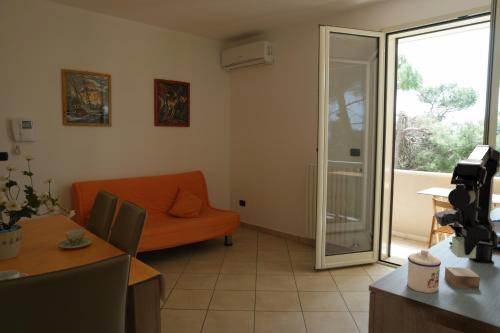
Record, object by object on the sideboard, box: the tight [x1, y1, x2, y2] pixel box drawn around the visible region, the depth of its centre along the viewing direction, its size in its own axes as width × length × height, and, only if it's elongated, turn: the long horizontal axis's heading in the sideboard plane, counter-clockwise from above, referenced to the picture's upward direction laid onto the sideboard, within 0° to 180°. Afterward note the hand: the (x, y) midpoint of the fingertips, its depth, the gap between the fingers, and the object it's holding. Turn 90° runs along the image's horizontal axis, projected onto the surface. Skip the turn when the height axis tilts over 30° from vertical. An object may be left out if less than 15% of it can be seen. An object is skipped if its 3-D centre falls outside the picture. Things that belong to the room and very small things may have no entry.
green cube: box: [451, 236, 476, 259], centre depth 110 cm, size 5×5×5 cm
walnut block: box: [444, 266, 481, 290], centre depth 111 cm, size 7×7×4 cm
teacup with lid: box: [406, 249, 442, 294], centre depth 109 cm, size 12×9×12 cm
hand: (463, 251), depth 110 cm, fingers closed on green cube, 5 cm apart
